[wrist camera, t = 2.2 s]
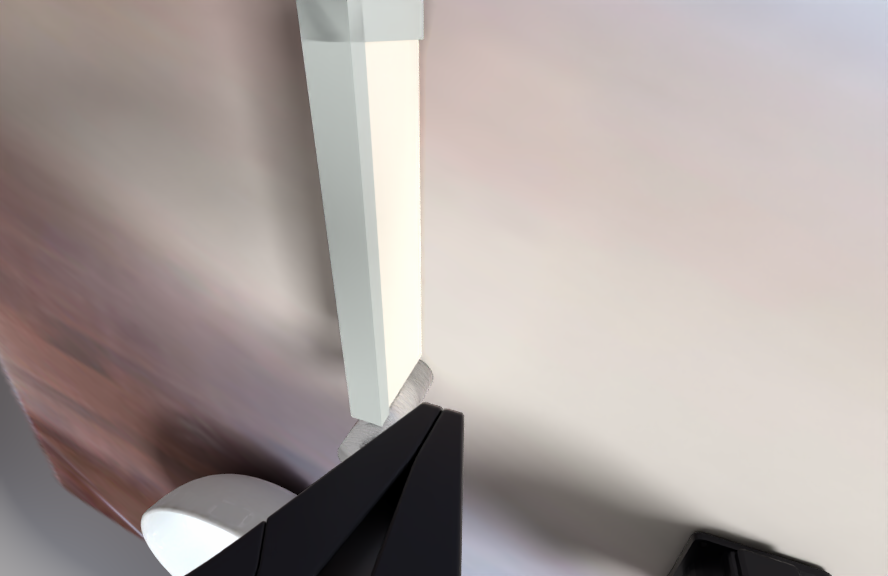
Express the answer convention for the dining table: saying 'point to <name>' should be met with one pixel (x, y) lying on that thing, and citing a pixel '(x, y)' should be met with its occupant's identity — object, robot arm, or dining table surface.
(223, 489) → the serving bowl
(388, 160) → the bar
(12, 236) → the dining table surface
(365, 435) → the hinge post
